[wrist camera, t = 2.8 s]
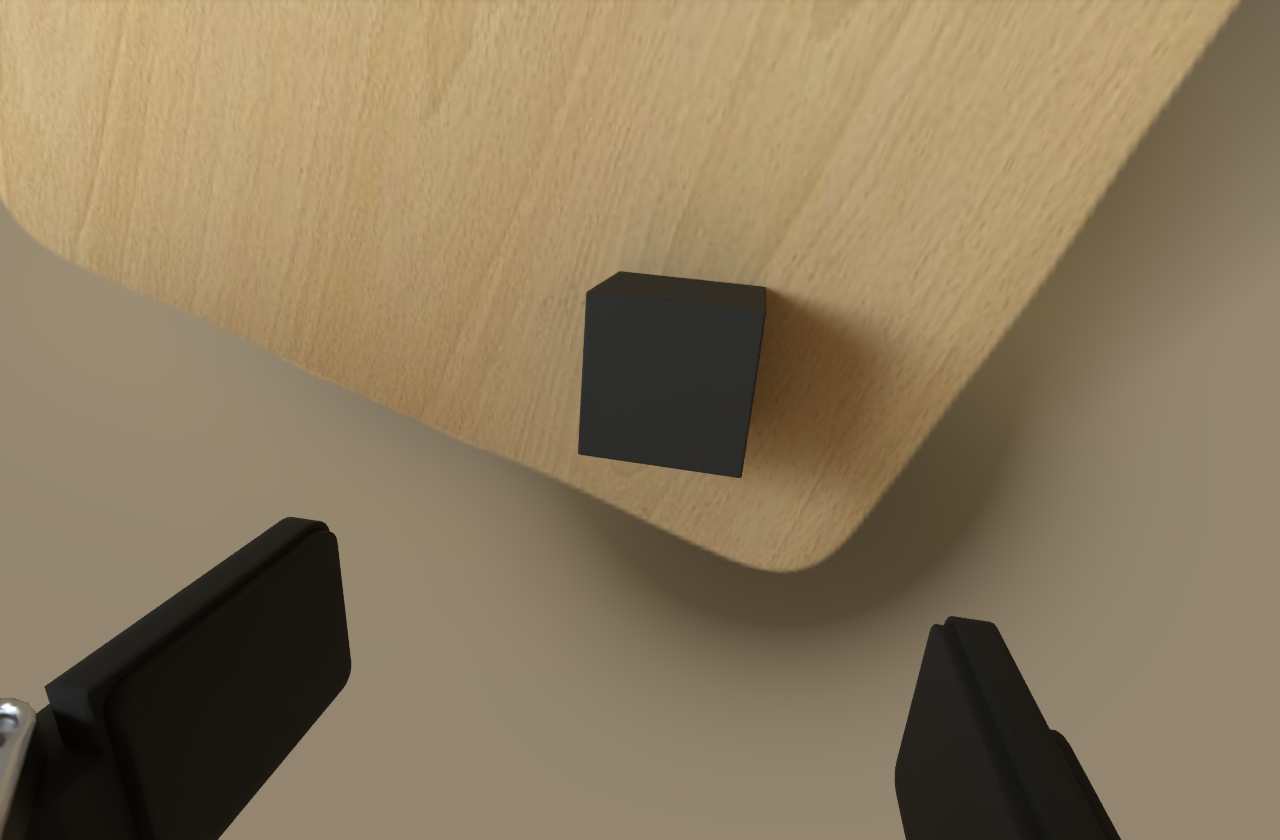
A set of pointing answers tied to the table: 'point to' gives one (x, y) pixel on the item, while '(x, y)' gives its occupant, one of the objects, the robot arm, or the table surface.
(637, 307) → the black cube
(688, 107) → the table surface
